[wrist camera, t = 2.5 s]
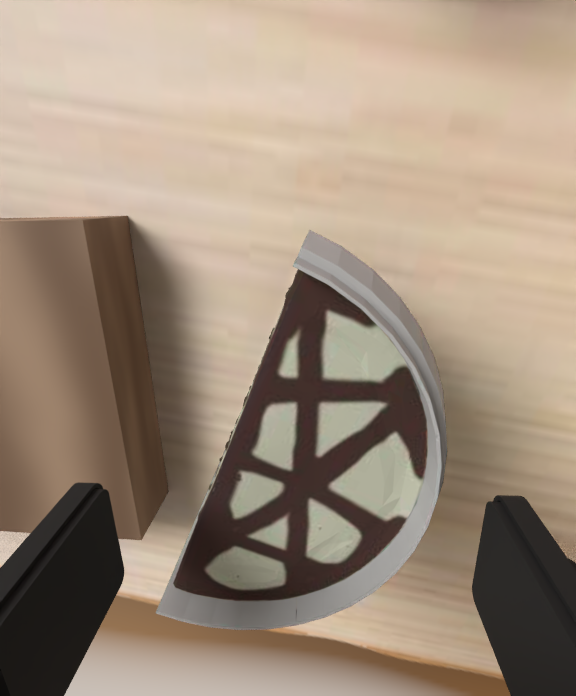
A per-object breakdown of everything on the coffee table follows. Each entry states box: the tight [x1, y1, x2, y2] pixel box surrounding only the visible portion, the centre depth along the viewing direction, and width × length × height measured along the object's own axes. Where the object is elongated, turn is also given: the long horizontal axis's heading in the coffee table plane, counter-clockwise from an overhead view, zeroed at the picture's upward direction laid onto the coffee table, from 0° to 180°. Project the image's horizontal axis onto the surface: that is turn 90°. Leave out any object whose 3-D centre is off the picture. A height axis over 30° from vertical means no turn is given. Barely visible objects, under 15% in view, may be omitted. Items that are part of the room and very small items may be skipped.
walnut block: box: [0, 216, 168, 540], centre depth 20 cm, size 14×15×4 cm
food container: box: [156, 230, 447, 630], centre depth 15 cm, size 12×6×10 cm, turn 159°
